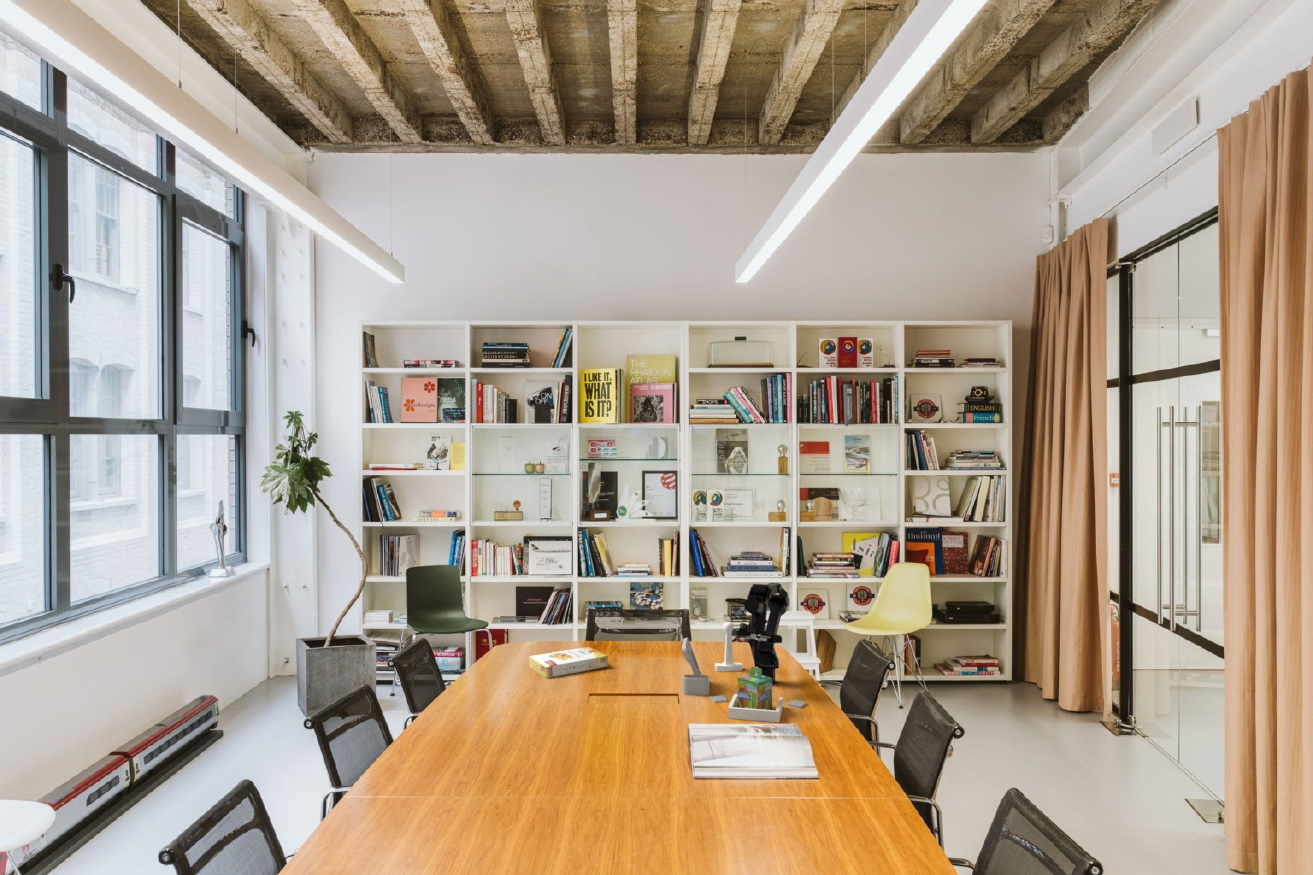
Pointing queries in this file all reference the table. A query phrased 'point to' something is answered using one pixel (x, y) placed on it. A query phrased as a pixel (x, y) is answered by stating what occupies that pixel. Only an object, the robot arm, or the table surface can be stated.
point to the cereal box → (568, 661)
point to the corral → (754, 712)
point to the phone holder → (695, 682)
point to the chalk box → (755, 691)
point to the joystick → (728, 652)
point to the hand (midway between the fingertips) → (754, 659)
